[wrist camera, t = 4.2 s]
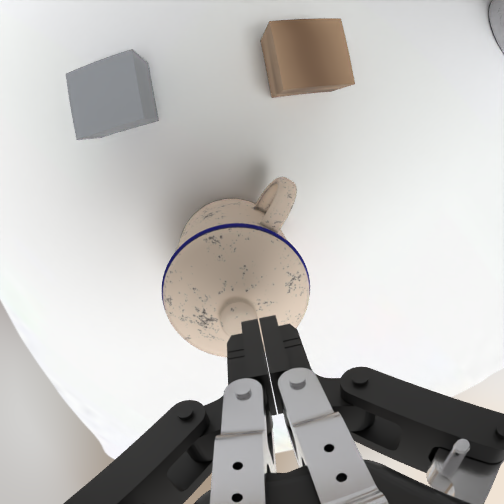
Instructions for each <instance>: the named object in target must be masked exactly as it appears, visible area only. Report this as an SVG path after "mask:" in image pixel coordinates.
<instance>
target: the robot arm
mask: <svg viewBox="0 0 504 504" xmlns="http://www.w3.org/2000/svg"><path fill="white" fill-rule="evenodd" d="M489 19H490V23H491V27H492V30H493V33H494V36H495V38H496V40H497V42H498V44H499V46H500V48H501V49H502V51H503V52H504V0H494V1H493V2H491V4H490V7H489ZM259 321H260V326H261V331H262V336H263V341H264V346H265V351H264V347H263V342H262V337H261V332H260V328H259V323H258V319H253V320H248V321H243V322H241V326H242V333H241V334H236V335H231V337H230V338H229V340H228V342H227V364H228V386H227V387H226V389H225V391H224V395H223V396H222V397H221V398H220V399H218V400H216V401H214V402H212V403H210V404H207V405H204V406H203V405H202V404H201V403H199V402H197V401H193V400H186V401H182V402H179V403H177V404H176V405H174V406H173V407H172V408H171V409H170V410H169V411H168V412H167V413H166V414H165V415H163V416H162V417H161V418H160V419H159V420H158V421H157V422H156V423H155V424H154V425H153V426H152V427H151V428H150V429H148V430H147V431H146V432H145V433H144V434H143V435H142V436H141V437H140V438H139V439H138V440H136V441H135V442H134V443H133V444H132V445H131V446H130V447H129V448H128V449H127V450H125V451H124V452H123V453H122V454H121V455H120V456H119V457H118V458H116V459H115V460H114V461H113V462H112V463H111V464H110V465H109V466H107V467H106V468H105V469H104V470H103V471H102V472H100V473H99V474H98V475H97V476H96V477H95V478H94V479H92V480H91V481H90V482H89V483H88V484H86V485H85V486H84V487H83V488H82V489H80V490H79V491H78V492H77V493H76V494H75V495H73V496H72V497H71V498H70V499H68V500H67V501H66V502H65V503H64V504H183V503H184V502H185V501H186V500H187V499H188V498H189V497H190V496H191V495H192V494H193V493H194V492H195V490H196V489H197V488H198V487H199V486H200V485H201V484H202V483H203V482H204V481H205V479H206V478H207V477H208V476H209V475H210V474H211V473H212V482H211V490H209V491H208V492H206V493H205V494H203V495H202V496H201V497H200V498H199V499H198V500H197V501H196V502H195V503H194V504H484V502H485V500H486V498H487V496H488V494H489V491H490V489H491V487H492V485H493V482H494V480H495V478H496V475H497V473H498V470H499V468H500V465H501V464H502V463H503V462H504V414H502V413H499V412H496V411H492V410H489V409H486V408H483V407H479V406H476V405H473V404H470V403H467V402H463V401H460V400H457V399H454V398H451V397H448V396H445V395H442V394H439V393H437V392H434V391H431V390H428V389H425V388H422V387H419V386H417V385H414V384H411V383H408V382H405V381H403V380H400V379H397V378H394V377H392V376H389V375H386V374H384V373H381V372H379V371H376V370H373V369H371V368H367V367H355V368H352V369H350V370H348V371H346V372H345V373H344V374H343V375H342V377H341V378H324V377H321V376H318V375H317V374H315V373H314V372H313V371H312V369H311V367H310V364H309V362H308V359H307V356H306V353H305V350H304V347H303V345H302V342H301V339H300V336H299V333H298V331H297V329H296V328H295V327H293V326H292V325H291V324H285V325H280V326H278V322H277V319H276V315H272V316H267V317H262V318H259ZM265 352H266V356H265ZM266 357H267V361H266ZM267 362H268V367H269V372H270V377H271V382H272V386H273V391H274V396H275V400H276V405H277V410H278V414H281V413H284V418H285V423H286V428H287V432H288V435H289V438H290V441H291V444H292V447H293V450H294V453H295V456H296V459H297V462H298V465H299V468H298V469H296V470H293V471H291V472H288V473H276V463H275V449H274V436H273V429H272V428H273V421H272V415H277V413H276V408H275V403H274V398H273V393H272V387H271V382H270V377H269V372H268V367H267ZM354 441H356V442H358V443H360V444H362V445H364V446H366V447H368V448H370V449H372V450H375V451H377V452H379V453H381V454H383V455H385V456H388V457H390V458H392V459H394V460H397V461H399V462H401V463H404V464H406V465H408V466H411V467H413V468H416V469H418V470H420V471H423V472H425V473H427V481H428V483H429V484H430V486H431V487H429V486H427V485H425V484H423V483H420V482H418V481H416V480H414V479H412V478H409V477H407V476H405V475H403V474H401V473H399V472H397V471H395V470H393V469H391V468H389V467H387V466H385V465H383V464H380V463H377V462H374V461H370V460H363V459H362V456H361V455H360V452H359V450H358V448H357V446H356V444H355V442H354ZM432 487H433V488H432Z"/></svg>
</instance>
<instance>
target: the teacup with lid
mask: <svg viewBox="0 0 504 504" xmlns="http://www.w3.org/2000/svg"><path fill="white" fill-rule="evenodd" d="M296 193H297V189H296V185H295V184H294V182H292V181H291V180H289V179H287V178H285V177H279V178H277V179H275V180H274V181H272V182H271V183H270V184H269V185H268V186H267V188H266V189H265V190H264V191H263V193H262V194H261V196H260V198H259V199H258V201H257V202H256V204H254V203H252V202H249V201H246V200H242V199H223V200H218V201H215V202H212V203H210V204H208V205H206V206H204V207H203V208H201V209H200V210H198V211H197V212H196V213H195V214H194V215H193V216H192V217H191V218H190V220H189V221H188V223H187V224H186V226H185V228H184V231H183V233H182V236H181V239H180V241H179V244H178V247H177V250H176V252H175V253H174V255H173V256H172V257H171V259H170V261H169V263H168V265H167V267H166V270H165V273H164V276H163V281H162V300H163V305H164V308H165V311H166V314H167V316H168V319H169V320H170V322H171V324H172V326H173V327H174V328H175V330H176V331H177V332H178V333H179V334H180V335H181V336H182V337H183V338H184V339H185V340H186V341H187V342H188V343H190V344H191V345H193V346H194V347H196V348H198V349H200V350H202V351H204V352H207V353H209V354H213V355H216V356H222V357H227V342H228V340H229V338H230V337H231V335H236V334H241V333H242V326H241V322H243V321H248V320H253V319H258V323H259V328H260V332H261V337H262V342H263V347H264V351H265V346H264V341H263V336H262V331H261V326H260V321H259V318H262V317H267V316H272V315H276V319H277V322H278V326H280V325H285V324H291V325H292V326H293V327H295V328H297V327H298V325H299V324H300V322H301V320H302V318H303V317H304V314H305V312H306V309H307V306H308V301H309V295H310V280H309V275H308V271H307V268H306V265H305V263H304V261H303V259H302V257H301V256H300V254H299V253H298V251H297V250H296V249H295V248H294V247H293V246H292V245H291V244H290V243H289V242H288V241H287V240H286V238H285V236H284V235H283V233H282V231H281V230H280V228H281V227H282V225H283V223H284V222H285V220H286V218H287V217H288V215H289V213H290V211H291V209H292V206H293V204H294V201H295V198H296Z"/></svg>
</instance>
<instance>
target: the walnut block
mask: <svg viewBox="0 0 504 504" xmlns="http://www.w3.org/2000/svg"><path fill="white" fill-rule="evenodd" d="M261 46H262V51H263V55H264V60H265V65H266V70H267V76H268V81H269V86H270V91H271V96H272V98H274V97H281V96H289V95H298V94H307V93H318V92H330V91H334V90H337V89H340V88H344V87H347V86H350V85H353V84H355V82H354V77H353V71H352V66H351V61H350V56H349V52H348V47H347V43H346V38H345V34H344V30H343V26H342V21H341V19H296V20H281V21H269V23H268V25H267V28H266V30H265V32H264V34H263V36H262V38H261Z"/></svg>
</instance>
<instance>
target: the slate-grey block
mask: <svg viewBox="0 0 504 504" xmlns="http://www.w3.org/2000/svg"><path fill="white" fill-rule="evenodd" d="M66 79H67V86H68V93H69V100H70V106H71V112H72V117H73V123H74V128H75V133H76V138H77V140H82V139H92V138H102V137H105V136H108V135H111V134H114V133H118V132H121V131H124V130H127V129H131V128H134V127H138V126H141V125H145V124H148V123H152V122H156V121H159V120H158V115H157V109H156V104H155V99H154V94H153V88H152V83H151V77H150V71H149V65H148V63H147V62H146V61H145V60H144V59H143V58H142V57H140V56H139V55H138V54H137V53H136V52H135V51H134V50H132V49H131V50H128V51H125V52H122V53H119V54H116V55H113V56H110V57H107V58H105V59H102V60H99V61H96V62H94V63H91V64H89V65H86V66H84V67H81V68H79V69H76V70H74V71H71V72H69V73H67V74H66Z"/></svg>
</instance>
